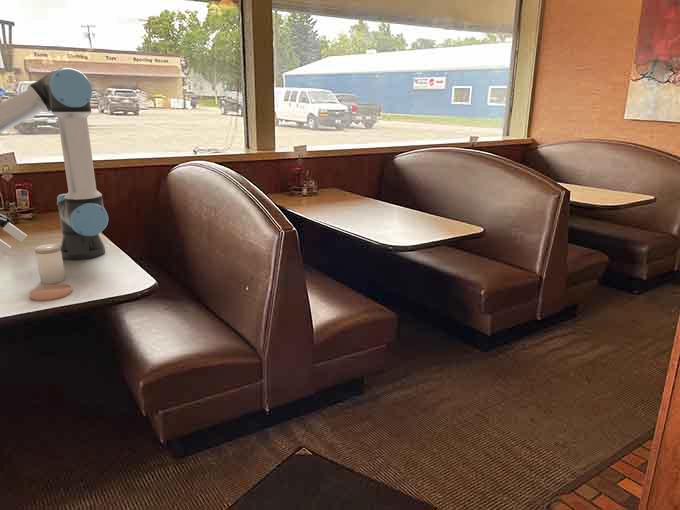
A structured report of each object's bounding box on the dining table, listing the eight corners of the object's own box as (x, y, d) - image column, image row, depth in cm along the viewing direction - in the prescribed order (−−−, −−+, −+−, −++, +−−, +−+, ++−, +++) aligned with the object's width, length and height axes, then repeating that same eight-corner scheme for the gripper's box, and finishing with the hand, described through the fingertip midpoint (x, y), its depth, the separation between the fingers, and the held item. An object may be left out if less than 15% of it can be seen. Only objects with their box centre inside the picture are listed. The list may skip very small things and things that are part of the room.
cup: (44, 277, 168) (38, 244, 165) (68, 275, 169) (63, 243, 166) (37, 284, 161) (31, 250, 158) (62, 282, 163) (56, 249, 159)
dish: (37, 289, 158) (36, 285, 157) (76, 286, 160) (75, 282, 160) (24, 302, 147) (23, 298, 147) (66, 299, 150) (65, 295, 149)
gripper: (-38, 199, 164) (22, 242, 171) (-81, 216, 140) (-9, 265, 148) (-23, 182, 163) (37, 226, 171) (-63, 196, 140) (8, 246, 147)
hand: (16, 244), depth 159 cm, fingers open, 13 cm apart
